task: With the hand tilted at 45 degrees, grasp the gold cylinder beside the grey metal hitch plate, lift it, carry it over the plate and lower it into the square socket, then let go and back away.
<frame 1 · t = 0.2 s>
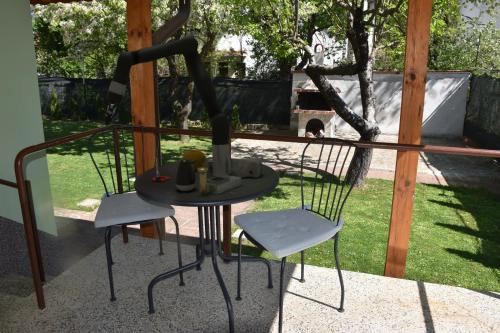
hand: (107, 123, 204), 31 cm above the table, tool tilted 20°, fingers open, 8 cm apart
dark grey ribbed bell: (186, 190, 198), on the table
stone: (250, 176, 221), on the table
gold cylinder: (203, 194, 191), on the table
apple: (194, 169, 238), on the table
hitch plate: (220, 187, 200), on the table
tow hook: (160, 180, 218), on the table
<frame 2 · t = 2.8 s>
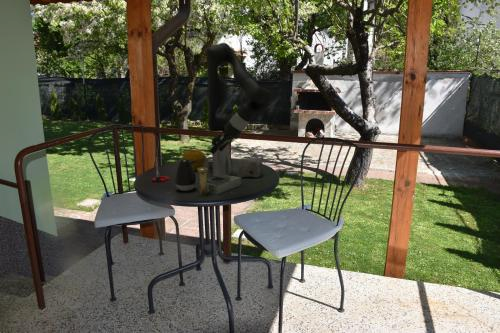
hand: (215, 151, 184), 20 cm above the table, tool tilted 40°, fingers open, 8 cm apart
nothing on the table moved.
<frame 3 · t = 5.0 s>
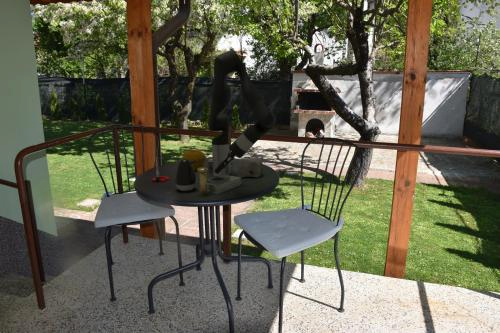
hand: (217, 170, 187), 11 cm above the table, tool tilted 45°, fingers open, 8 cm apart
nothing on the table moved.
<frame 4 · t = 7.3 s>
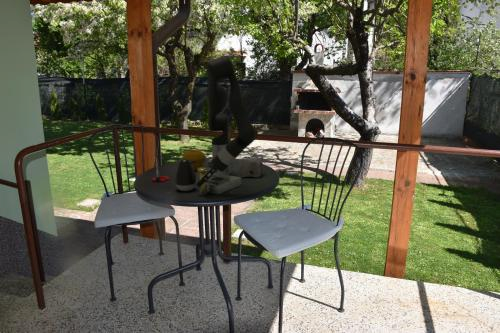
hand: (199, 184, 190), 4 cm above the table, tool tilted 45°, fingers closed on gold cylinder, 3 cm apart
gold cylinder: (203, 194, 191), on the table, touching gripper
everything else where it was.
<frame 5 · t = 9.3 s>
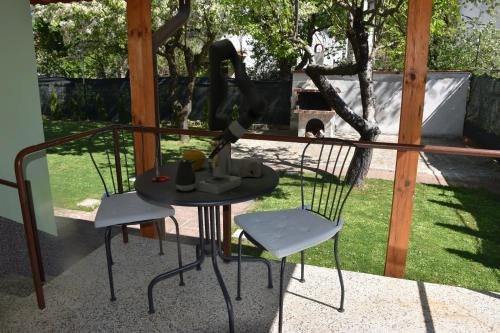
hand: (210, 157, 195), 16 cm above the table, tool tilted 45°, fingers closed on gold cylinder, 3 cm apart
gold cylinder: (215, 166, 196), point 11 cm above the table, touching gripper
everything else where it was.
when the fingers open (7 cm above the table, at t = 11.5 s): gold cylinder stays where it is, resting in hitch plate.
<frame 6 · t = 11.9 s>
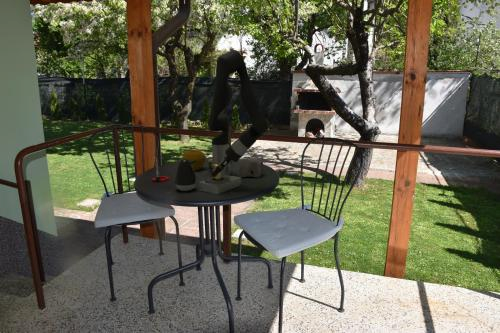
hand: (214, 173, 197), 8 cm above the table, tool tilted 45°, fingers open, 8 cm apart
gold cylinder: (217, 188, 198), resting in hitch plate
everything else where it was.
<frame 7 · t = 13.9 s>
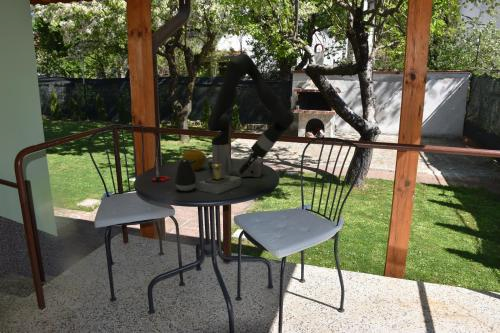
hand: (241, 170, 196), 9 cm above the table, tool tilted 40°, fingers open, 8 cm apart
nothing on the table moved.
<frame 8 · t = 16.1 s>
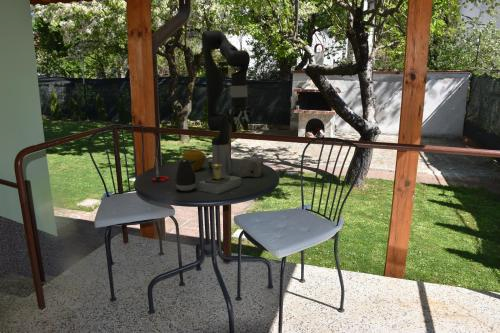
hand: (240, 131, 191), 28 cm above the table, tool pointing down, fingers open, 8 cm apart
at the end: gold cylinder 0.1 cm from the target spot on the hitch plate, point 0.0 cm above the hitch plate's base; gold cylinder tilted 0°; the gripper is holding nothing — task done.
